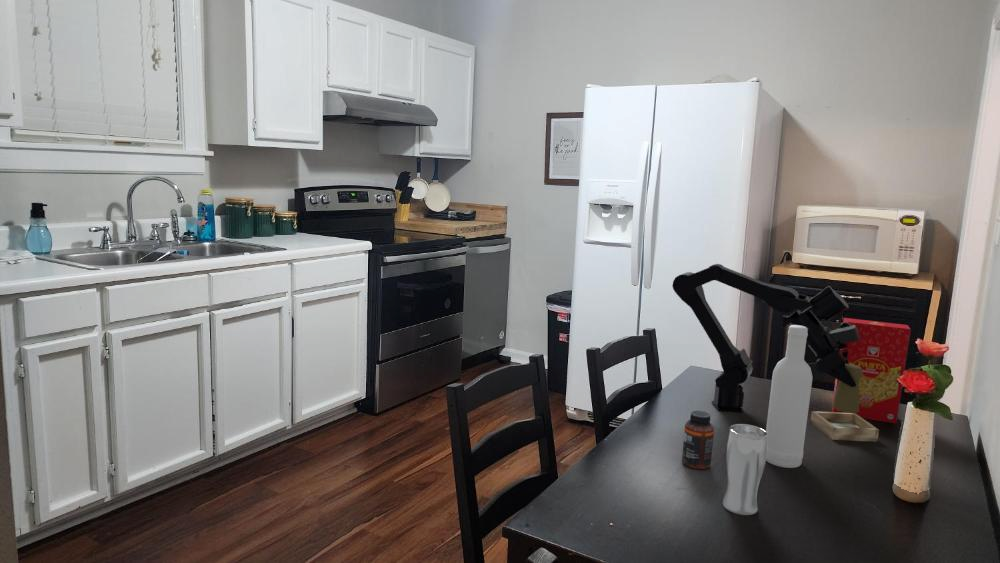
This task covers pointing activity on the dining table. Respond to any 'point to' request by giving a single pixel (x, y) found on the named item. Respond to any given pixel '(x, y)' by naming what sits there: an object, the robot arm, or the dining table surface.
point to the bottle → (789, 403)
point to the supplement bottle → (698, 441)
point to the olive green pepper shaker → (848, 392)
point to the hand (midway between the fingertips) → (855, 383)
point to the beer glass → (744, 467)
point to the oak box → (844, 426)
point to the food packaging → (878, 367)
